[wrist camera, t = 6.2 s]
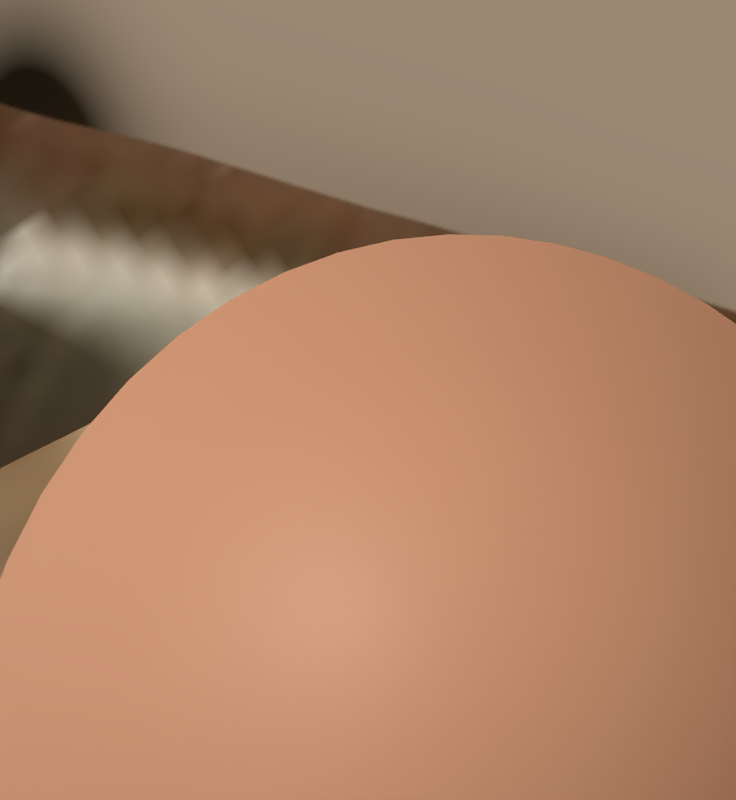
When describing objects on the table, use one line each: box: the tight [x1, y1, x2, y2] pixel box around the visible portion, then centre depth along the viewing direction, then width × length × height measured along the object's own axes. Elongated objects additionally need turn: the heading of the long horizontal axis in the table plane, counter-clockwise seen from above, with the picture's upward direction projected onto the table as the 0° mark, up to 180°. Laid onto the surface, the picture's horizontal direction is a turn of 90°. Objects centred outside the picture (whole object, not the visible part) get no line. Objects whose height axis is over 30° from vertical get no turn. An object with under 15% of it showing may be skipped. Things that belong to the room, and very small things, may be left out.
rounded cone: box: [0, 234, 736, 800], centre depth 9 cm, size 5×5×12 cm
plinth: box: [0, 423, 91, 579], centre depth 18 cm, size 9×9×2 cm
